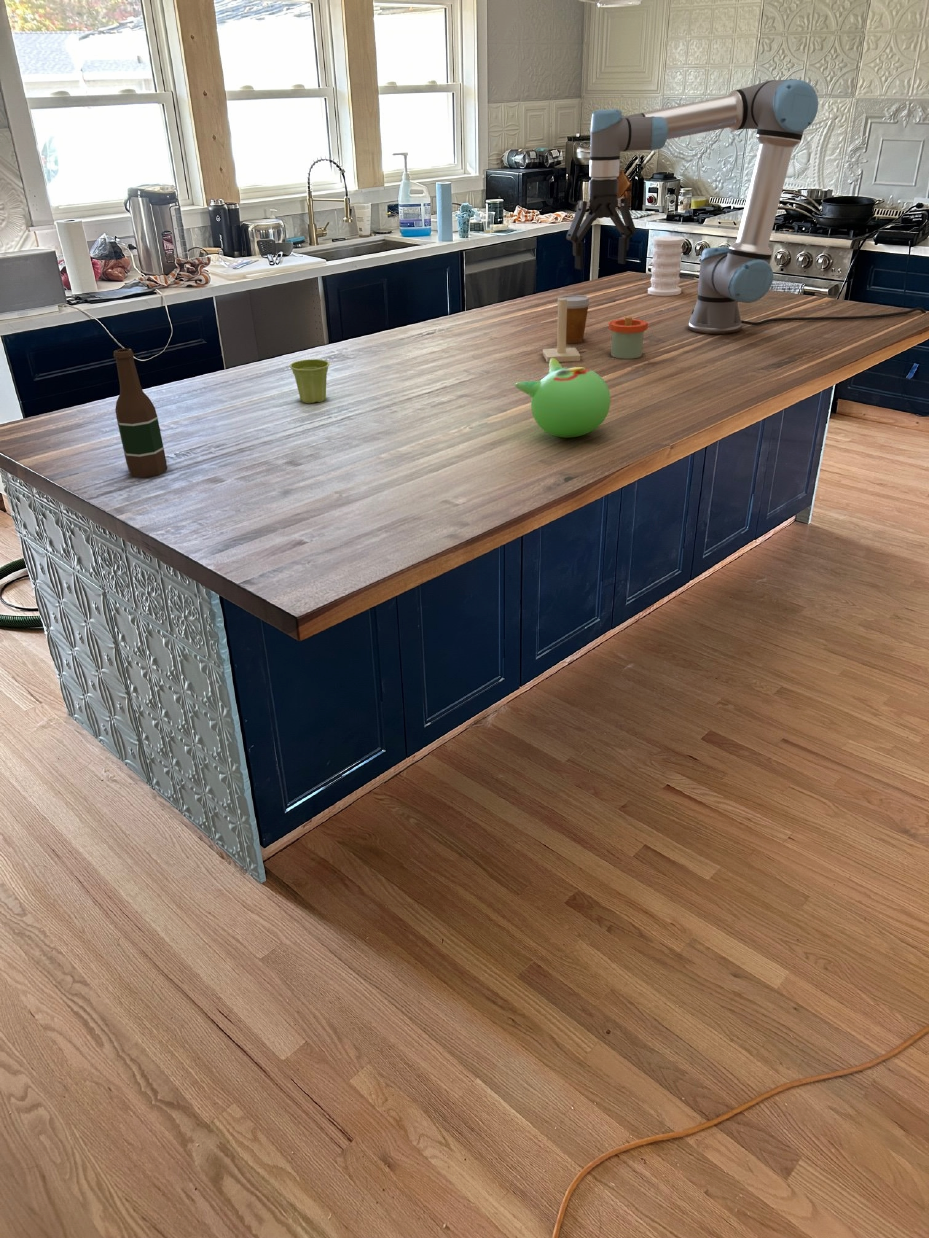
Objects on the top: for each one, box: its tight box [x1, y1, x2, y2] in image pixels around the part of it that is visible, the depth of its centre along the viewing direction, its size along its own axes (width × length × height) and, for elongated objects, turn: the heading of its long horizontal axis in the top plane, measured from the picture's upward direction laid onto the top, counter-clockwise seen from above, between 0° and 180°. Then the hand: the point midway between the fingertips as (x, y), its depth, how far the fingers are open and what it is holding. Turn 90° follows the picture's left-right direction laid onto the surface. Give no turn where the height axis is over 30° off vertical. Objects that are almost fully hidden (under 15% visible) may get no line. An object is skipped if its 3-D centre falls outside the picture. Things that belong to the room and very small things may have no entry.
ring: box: [608, 318, 649, 333], centre depth 249 cm, size 10×10×2 cm
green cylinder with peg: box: [610, 316, 645, 360], centre depth 251 cm, size 8×8×10 cm
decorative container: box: [647, 235, 685, 297], centre depth 322 cm, size 12×12×18 cm
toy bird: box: [514, 358, 611, 439], centre depth 193 cm, size 18×17×15 cm
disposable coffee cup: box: [556, 294, 591, 344], centre depth 266 cm, size 10×10×12 cm
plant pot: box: [289, 358, 330, 404], centre depth 222 cm, size 9×9×9 cm
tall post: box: [542, 297, 581, 364], centre depth 249 cm, size 9×9×16 cm
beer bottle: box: [113, 347, 168, 479], centre depth 178 cm, size 8×8×24 cm
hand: (600, 266), depth 246 cm, fingers open, 13 cm apart
